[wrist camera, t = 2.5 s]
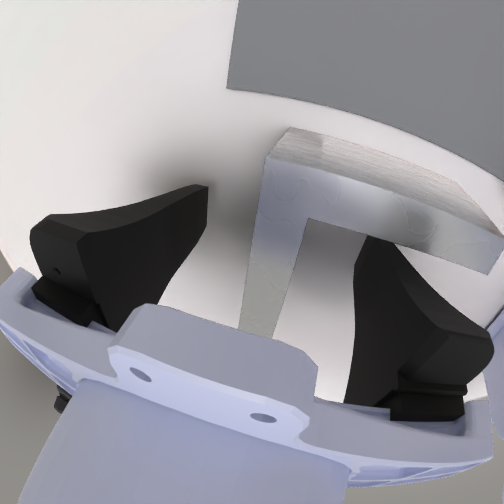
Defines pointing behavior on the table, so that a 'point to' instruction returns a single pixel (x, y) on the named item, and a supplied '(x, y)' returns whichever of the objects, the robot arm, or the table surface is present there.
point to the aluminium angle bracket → (353, 214)
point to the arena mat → (384, 64)
